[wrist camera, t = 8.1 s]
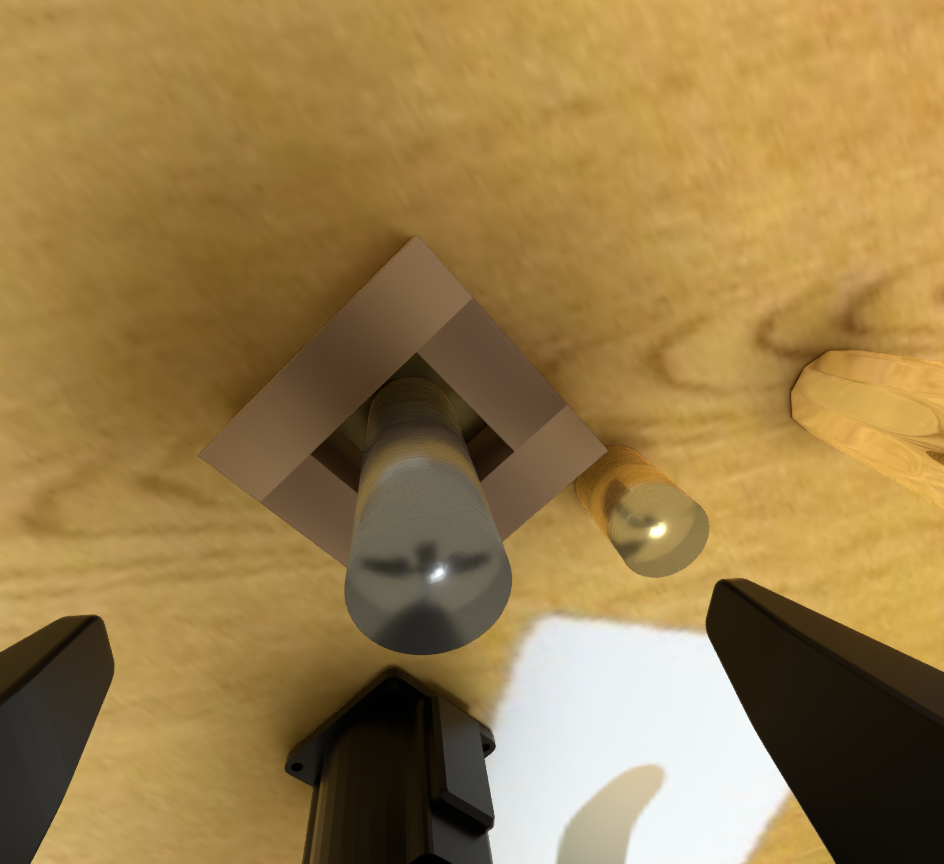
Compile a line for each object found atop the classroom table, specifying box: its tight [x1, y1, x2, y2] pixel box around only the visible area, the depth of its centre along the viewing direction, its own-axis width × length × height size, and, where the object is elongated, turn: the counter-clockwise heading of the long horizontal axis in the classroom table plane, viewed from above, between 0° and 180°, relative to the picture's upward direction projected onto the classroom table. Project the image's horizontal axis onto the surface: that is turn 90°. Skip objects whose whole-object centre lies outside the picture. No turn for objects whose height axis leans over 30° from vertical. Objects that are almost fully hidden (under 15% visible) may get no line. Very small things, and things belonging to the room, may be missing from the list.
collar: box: [198, 235, 608, 567], centre depth 15 cm, size 8×8×3 cm
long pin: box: [345, 377, 512, 655], centre depth 13 cm, size 3×3×9 cm
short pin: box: [575, 446, 709, 578], centre depth 17 cm, size 3×3×4 cm
